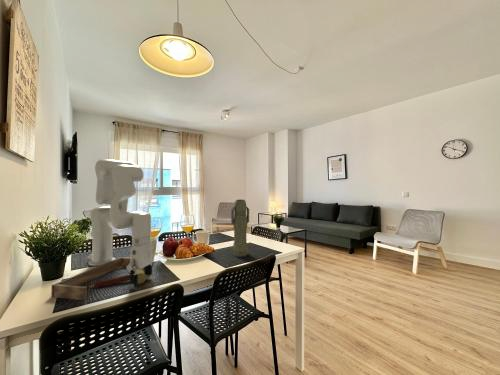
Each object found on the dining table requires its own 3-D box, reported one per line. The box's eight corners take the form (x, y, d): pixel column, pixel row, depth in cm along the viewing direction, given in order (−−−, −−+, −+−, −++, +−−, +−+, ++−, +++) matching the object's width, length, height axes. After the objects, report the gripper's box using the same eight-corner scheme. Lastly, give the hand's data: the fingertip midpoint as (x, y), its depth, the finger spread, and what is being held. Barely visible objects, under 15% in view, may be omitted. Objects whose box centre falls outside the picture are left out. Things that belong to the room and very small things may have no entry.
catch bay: (51, 296, 84) (51, 285, 84) (120, 265, 118) (120, 257, 118) (83, 300, 81) (84, 288, 81) (145, 267, 116) (145, 258, 116)
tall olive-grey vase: (251, 254, 137) (252, 199, 138) (235, 258, 131) (235, 200, 131) (244, 251, 145) (244, 199, 145) (228, 254, 138) (229, 199, 139)
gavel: (87, 286, 86) (90, 277, 95) (88, 297, 86) (91, 287, 95) (145, 272, 97) (143, 265, 105) (146, 282, 97) (144, 274, 105)
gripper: (135, 245, 88) (135, 288, 87) (160, 236, 105) (160, 272, 104) (119, 245, 89) (119, 287, 89) (146, 236, 106) (146, 271, 106)
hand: (141, 279), depth 97 cm, fingers open, 9 cm apart
